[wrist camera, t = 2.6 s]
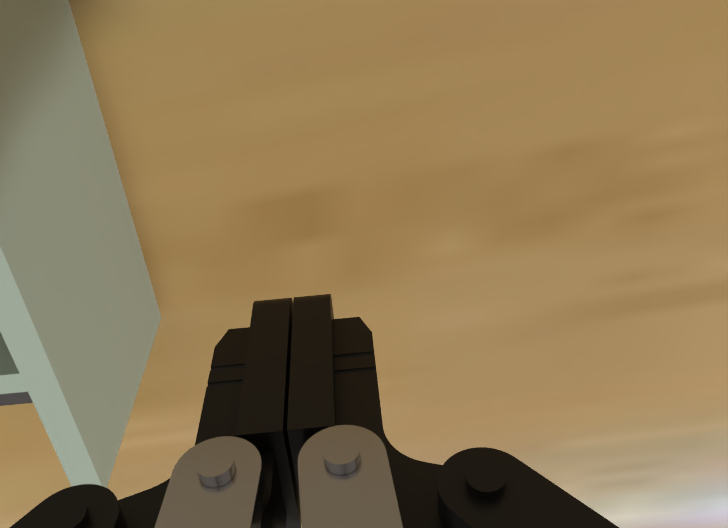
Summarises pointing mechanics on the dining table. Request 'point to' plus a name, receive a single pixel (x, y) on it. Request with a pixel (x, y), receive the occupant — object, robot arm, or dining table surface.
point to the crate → (66, 246)
